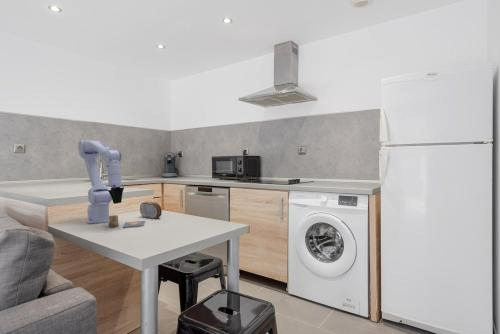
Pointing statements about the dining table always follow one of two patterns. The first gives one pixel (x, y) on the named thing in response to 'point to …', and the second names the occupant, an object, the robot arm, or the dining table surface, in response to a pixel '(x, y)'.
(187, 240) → the dining table surface
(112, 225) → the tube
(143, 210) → the tin
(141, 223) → the card
